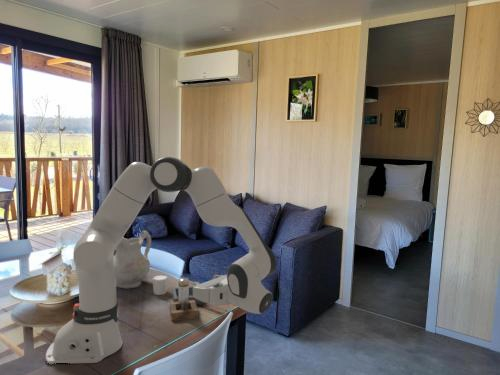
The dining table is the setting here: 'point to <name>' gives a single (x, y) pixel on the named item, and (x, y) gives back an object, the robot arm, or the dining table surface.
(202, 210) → the robot arm
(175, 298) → the tray
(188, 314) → the socket block
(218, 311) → the dining table surface
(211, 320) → the dining table surface
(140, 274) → the ceramic pitcher
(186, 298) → the steel pin
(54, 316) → the dining table surface
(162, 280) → the shot glass
